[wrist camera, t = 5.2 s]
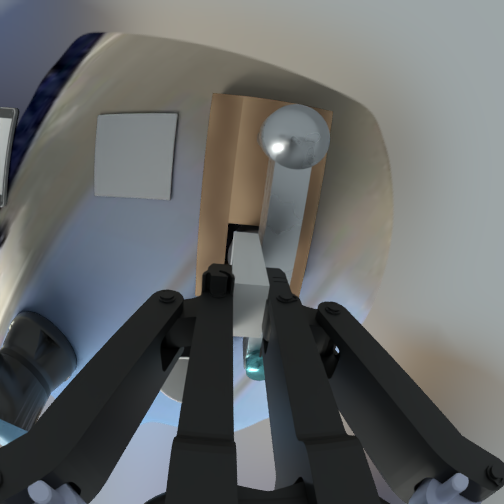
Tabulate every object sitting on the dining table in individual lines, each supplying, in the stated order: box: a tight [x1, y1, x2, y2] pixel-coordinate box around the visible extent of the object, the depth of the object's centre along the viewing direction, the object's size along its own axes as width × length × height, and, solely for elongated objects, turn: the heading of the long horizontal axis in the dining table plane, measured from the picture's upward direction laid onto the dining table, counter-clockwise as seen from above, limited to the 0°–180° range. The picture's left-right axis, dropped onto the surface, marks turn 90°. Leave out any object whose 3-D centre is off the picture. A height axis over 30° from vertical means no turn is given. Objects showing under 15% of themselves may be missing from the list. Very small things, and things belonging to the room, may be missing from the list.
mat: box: [94, 113, 178, 200], centre depth 29 cm, size 10×10×1 cm
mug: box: [160, 346, 191, 403], centre depth 35 cm, size 12×9×10 cm
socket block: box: [195, 93, 333, 298], centre depth 26 cm, size 12×22×14 cm, turn 173°
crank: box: [243, 104, 330, 381], centre depth 17 cm, size 18×4×4 cm, turn 173°
